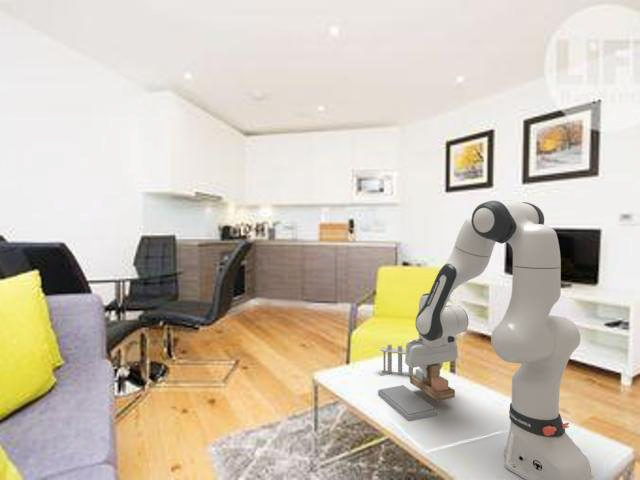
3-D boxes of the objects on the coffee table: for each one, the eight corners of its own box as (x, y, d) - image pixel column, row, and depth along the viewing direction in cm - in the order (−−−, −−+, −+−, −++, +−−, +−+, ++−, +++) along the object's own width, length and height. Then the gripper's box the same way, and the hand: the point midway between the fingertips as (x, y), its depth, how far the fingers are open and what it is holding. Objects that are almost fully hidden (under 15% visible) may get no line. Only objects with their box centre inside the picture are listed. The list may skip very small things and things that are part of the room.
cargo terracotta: (448, 391, 130) (448, 380, 130) (438, 394, 129) (438, 382, 128) (440, 387, 134) (440, 376, 134) (431, 389, 132) (431, 378, 132)
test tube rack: (442, 381, 153) (443, 349, 153) (441, 385, 149) (441, 352, 149) (382, 371, 163) (382, 341, 163) (379, 375, 159) (379, 345, 159)
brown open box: (454, 397, 129) (454, 369, 129) (438, 401, 127) (438, 373, 126) (425, 379, 144) (425, 355, 144) (410, 382, 142) (410, 357, 141)
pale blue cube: (431, 382, 138) (431, 371, 138) (422, 383, 137) (422, 373, 137) (424, 378, 142) (424, 367, 142) (415, 379, 141) (415, 369, 140)
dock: (437, 417, 125) (437, 408, 125) (408, 424, 121) (408, 414, 121) (403, 392, 144) (403, 384, 143) (378, 397, 140) (378, 389, 140)
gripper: (411, 343, 128) (411, 383, 129) (460, 336, 135) (460, 374, 136) (401, 338, 134) (401, 376, 135) (448, 332, 141) (448, 368, 142)
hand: (431, 375), depth 135 cm, fingers closed on brown open box, 3 cm apart
